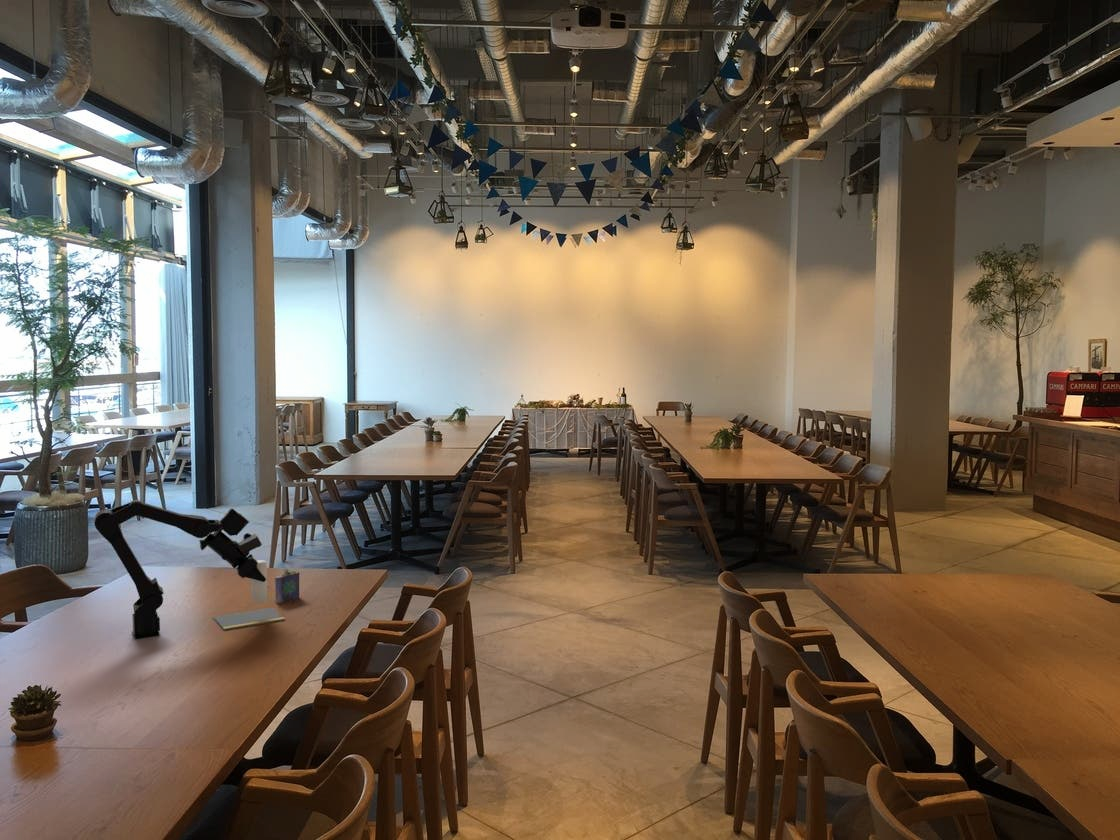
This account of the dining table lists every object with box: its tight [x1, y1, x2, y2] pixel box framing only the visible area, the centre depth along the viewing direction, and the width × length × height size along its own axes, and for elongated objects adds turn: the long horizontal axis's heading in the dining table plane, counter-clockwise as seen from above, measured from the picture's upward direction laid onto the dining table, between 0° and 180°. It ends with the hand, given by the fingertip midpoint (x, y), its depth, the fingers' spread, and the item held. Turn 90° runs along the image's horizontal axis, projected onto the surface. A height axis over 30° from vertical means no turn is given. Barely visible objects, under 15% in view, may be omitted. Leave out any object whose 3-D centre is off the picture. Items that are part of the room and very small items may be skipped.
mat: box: [213, 607, 286, 631], centre depth 269 cm, size 18×14×1 cm
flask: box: [274, 568, 300, 605], centre depth 289 cm, size 9×3×11 cm, turn 146°
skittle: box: [250, 559, 268, 603], centre depth 269 cm, size 5×5×12 cm
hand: (263, 578), depth 270 cm, fingers closed on skittle, 5 cm apart
